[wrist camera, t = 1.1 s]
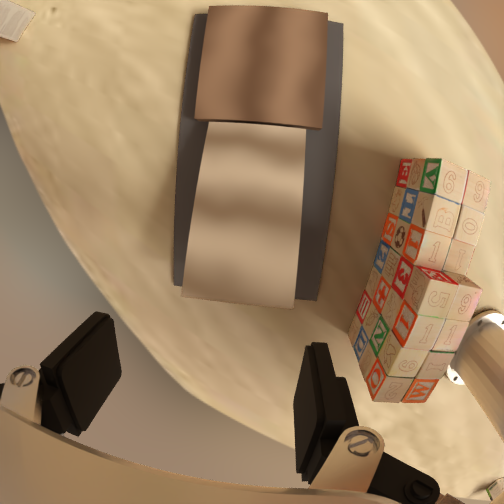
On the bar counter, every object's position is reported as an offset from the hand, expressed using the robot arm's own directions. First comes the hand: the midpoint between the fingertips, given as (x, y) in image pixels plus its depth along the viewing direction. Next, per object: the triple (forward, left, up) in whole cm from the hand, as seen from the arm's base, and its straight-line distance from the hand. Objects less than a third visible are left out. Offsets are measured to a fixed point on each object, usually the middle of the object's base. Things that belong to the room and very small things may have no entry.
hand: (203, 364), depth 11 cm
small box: (+40, -32, -22) cm, 56 cm away
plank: (0, -3, -18) cm, 18 cm away
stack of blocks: (-17, +1, -22) cm, 28 cm away
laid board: (0, -18, -21) cm, 28 cm away
